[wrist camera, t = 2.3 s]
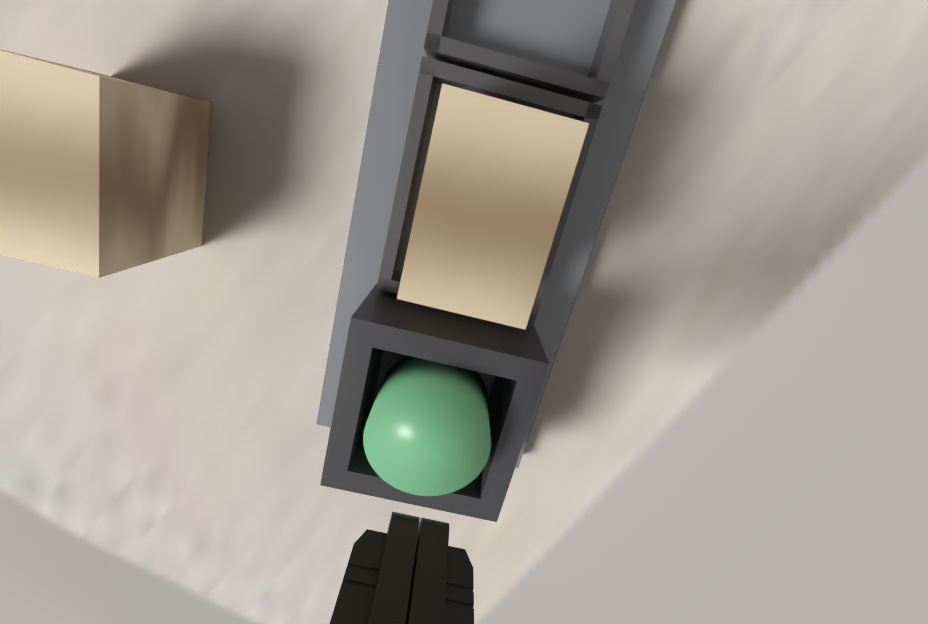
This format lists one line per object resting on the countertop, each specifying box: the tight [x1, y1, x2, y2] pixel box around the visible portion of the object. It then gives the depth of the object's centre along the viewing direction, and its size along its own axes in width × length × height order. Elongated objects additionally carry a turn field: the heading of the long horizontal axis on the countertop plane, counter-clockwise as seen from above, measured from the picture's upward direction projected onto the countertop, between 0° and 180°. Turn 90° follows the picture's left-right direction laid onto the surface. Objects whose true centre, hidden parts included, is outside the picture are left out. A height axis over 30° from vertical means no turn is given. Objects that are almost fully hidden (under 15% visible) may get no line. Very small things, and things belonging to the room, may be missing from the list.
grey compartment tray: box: [317, 0, 676, 522], centre depth 17 cm, size 25×10×6 cm, turn 166°
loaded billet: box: [397, 83, 589, 330], centre depth 16 cm, size 6×4×6 cm, turn 166°
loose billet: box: [0, 50, 212, 278], centre depth 17 cm, size 6×4×6 cm, turn 166°
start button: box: [363, 356, 491, 496], centre depth 17 cm, size 4×4×3 cm
